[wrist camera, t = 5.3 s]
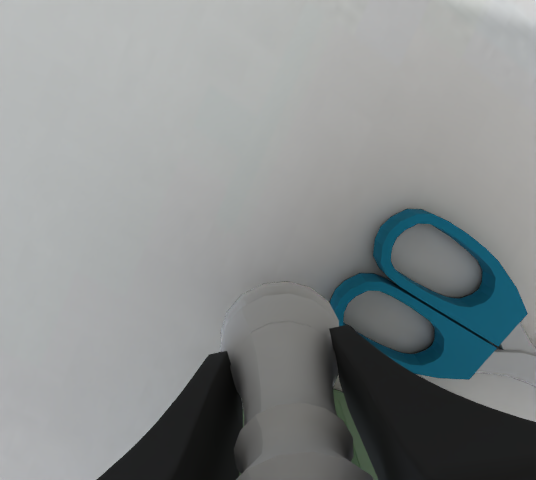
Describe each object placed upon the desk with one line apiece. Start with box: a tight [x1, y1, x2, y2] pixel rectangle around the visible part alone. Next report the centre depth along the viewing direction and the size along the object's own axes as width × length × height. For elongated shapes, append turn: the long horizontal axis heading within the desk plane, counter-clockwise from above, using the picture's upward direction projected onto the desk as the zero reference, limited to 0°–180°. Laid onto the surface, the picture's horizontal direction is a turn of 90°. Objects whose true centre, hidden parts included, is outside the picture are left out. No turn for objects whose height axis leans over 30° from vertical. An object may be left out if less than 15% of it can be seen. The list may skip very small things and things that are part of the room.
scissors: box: [330, 209, 536, 387], centre depth 17 cm, size 7×1×20 cm
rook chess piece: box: [220, 281, 374, 480], centre depth 10 cm, size 4×4×8 cm
